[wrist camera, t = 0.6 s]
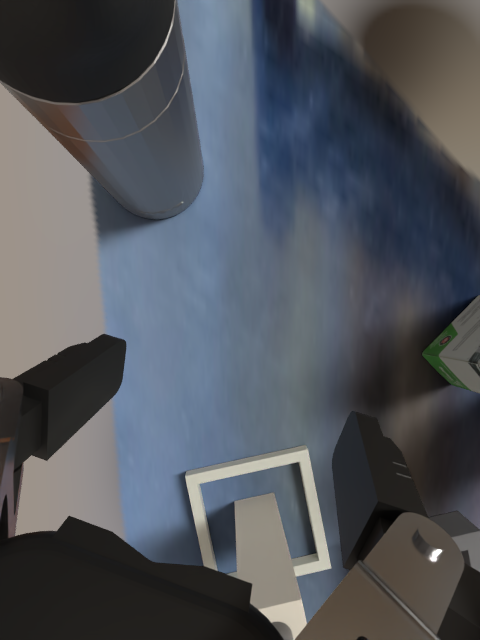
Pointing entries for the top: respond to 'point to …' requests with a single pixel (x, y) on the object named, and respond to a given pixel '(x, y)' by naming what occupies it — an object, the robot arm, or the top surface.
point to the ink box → (459, 350)
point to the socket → (462, 536)
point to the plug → (268, 564)
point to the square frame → (253, 464)
